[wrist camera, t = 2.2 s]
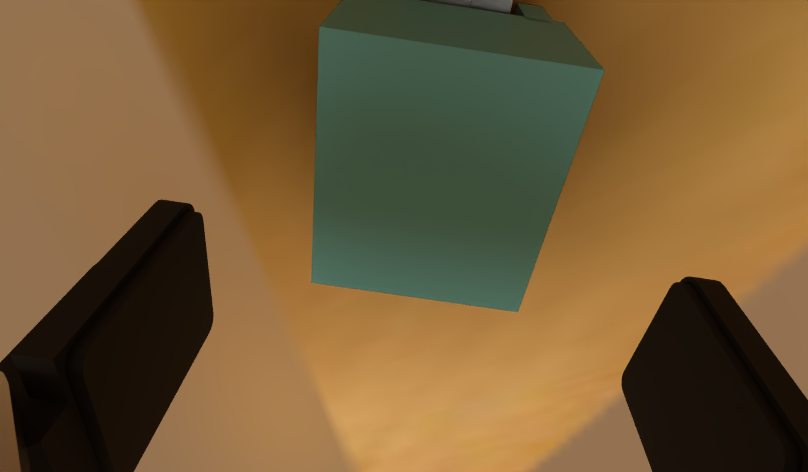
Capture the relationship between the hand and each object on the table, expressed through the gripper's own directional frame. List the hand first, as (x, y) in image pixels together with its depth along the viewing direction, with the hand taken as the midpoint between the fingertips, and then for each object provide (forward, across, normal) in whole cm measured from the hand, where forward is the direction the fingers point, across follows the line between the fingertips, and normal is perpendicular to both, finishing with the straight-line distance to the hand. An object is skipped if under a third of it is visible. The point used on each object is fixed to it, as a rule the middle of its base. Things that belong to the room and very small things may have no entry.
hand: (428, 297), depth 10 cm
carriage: (+10, 0, -1) cm, 10 cm away
